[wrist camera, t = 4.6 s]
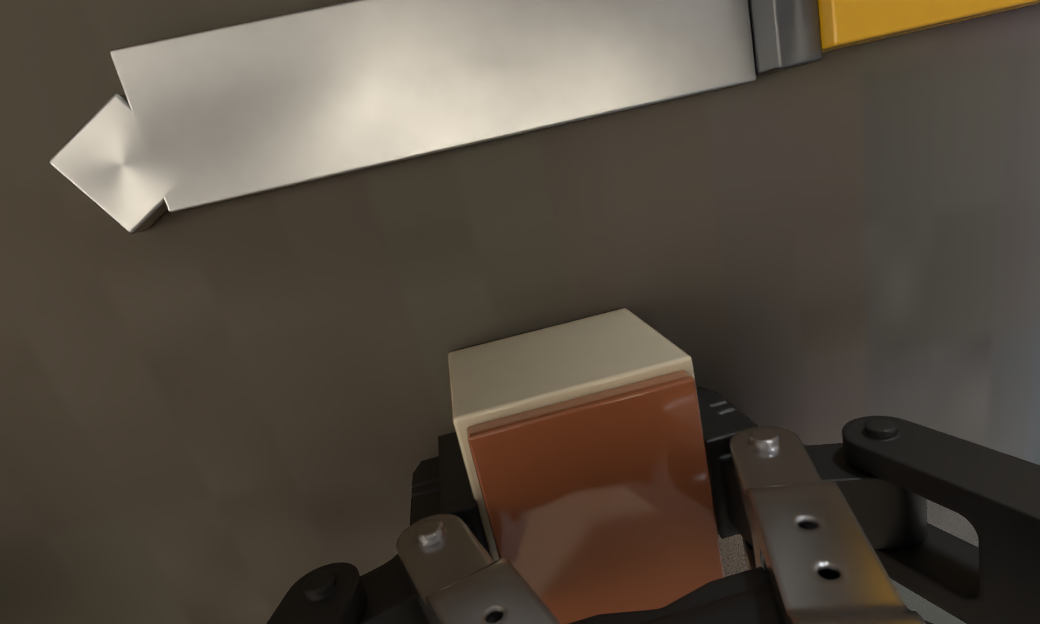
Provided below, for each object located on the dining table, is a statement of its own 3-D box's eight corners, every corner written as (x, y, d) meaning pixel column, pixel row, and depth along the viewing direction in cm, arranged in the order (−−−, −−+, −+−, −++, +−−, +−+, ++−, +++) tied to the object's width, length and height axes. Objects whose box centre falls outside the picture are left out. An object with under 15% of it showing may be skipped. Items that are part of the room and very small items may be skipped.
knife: (99, 241, 13) (42, 254, 11) (31, 74, 12) (-44, 58, 10) (1154, 0, 15) (1259, -23, 13) (1164, -157, 14) (1278, -207, 12)
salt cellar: (497, 545, 16) (522, 684, 12) (446, 352, 15) (452, 431, 10) (660, 499, 17) (741, 618, 12) (626, 306, 15) (705, 364, 11)
